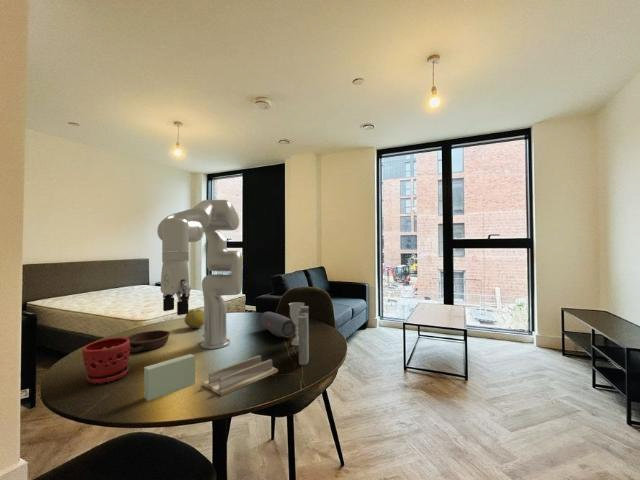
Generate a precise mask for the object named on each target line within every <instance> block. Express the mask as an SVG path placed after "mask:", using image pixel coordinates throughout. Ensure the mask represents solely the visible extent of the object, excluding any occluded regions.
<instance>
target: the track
mask: <svg viewBox="0 0 640 480" xmlns="http://www.w3.org/2000/svg"><path fill="white" fill-rule="evenodd" d="M278 372H279V368H276V367H274V366H273V359H272V358H270V359H267V360H264V361H262V355H256V356H253V357H251V358H247V359H245V360H242V361H239V362H237V363H234V364H231V365H227V366H224V367H222V368H219V369H217V370H213V371H211V372H208V379H207V380H205V381H202V386H203V387H205V388H207V389H209V390H211V391H212V392H214V394H215V393H216V394H218V395H219V396H221V397H223V396H225V395H228V394H231V393H232V392H235V391H237V390H239V389H242V388H243V387H246V386H248V385H251V384H253V383H255V382H258V381H261V380H262V379H264V378H265V379H266V378H267V377H269V376H271V375H274V374H276V373H278Z"/></svg>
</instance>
